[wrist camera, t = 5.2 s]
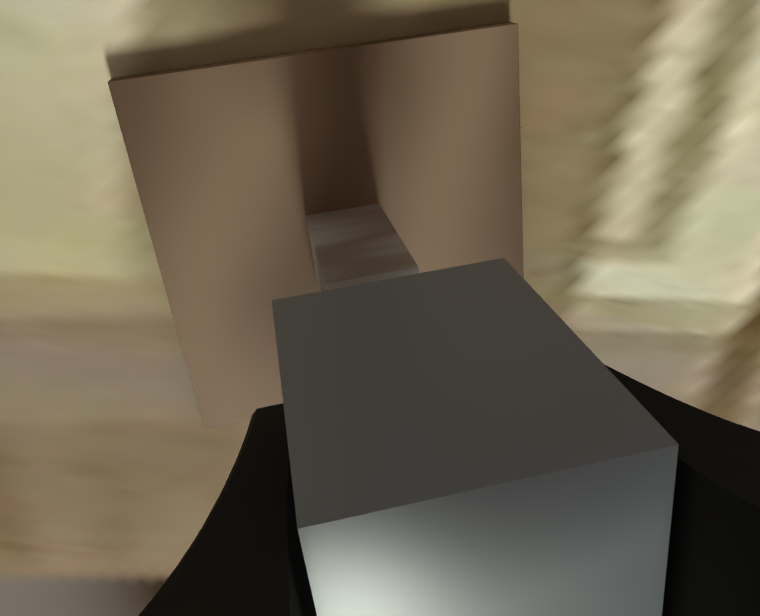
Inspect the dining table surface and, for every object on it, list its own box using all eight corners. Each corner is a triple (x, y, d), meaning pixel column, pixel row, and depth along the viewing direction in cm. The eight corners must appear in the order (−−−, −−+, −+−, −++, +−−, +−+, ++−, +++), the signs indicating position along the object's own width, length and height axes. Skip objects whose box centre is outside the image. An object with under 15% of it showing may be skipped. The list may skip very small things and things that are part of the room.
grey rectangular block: (504, 257, 14) (678, 444, 8) (510, 444, 16) (654, 690, 10) (271, 299, 13) (297, 528, 8) (309, 487, 15) (351, 770, 10)
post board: (510, 22, 20) (603, 39, 15) (519, 356, 25) (591, 453, 20) (111, 78, 18) (66, 118, 14) (205, 418, 23) (197, 539, 18)
